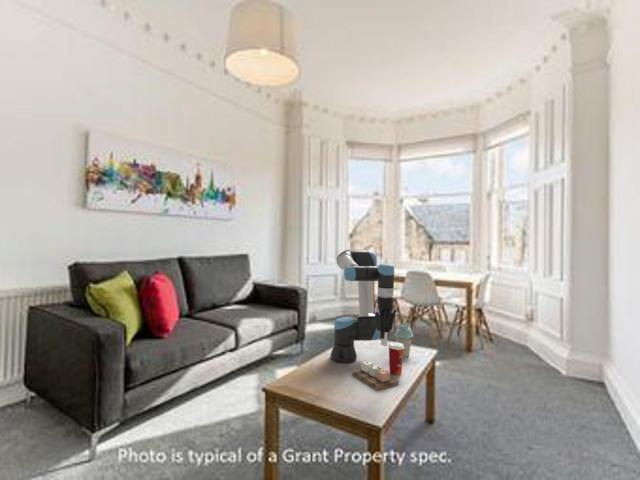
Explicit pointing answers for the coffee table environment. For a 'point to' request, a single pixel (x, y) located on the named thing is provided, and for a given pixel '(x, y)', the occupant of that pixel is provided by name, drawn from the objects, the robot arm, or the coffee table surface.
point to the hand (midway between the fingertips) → (384, 345)
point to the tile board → (374, 380)
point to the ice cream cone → (404, 337)
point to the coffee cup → (395, 357)
